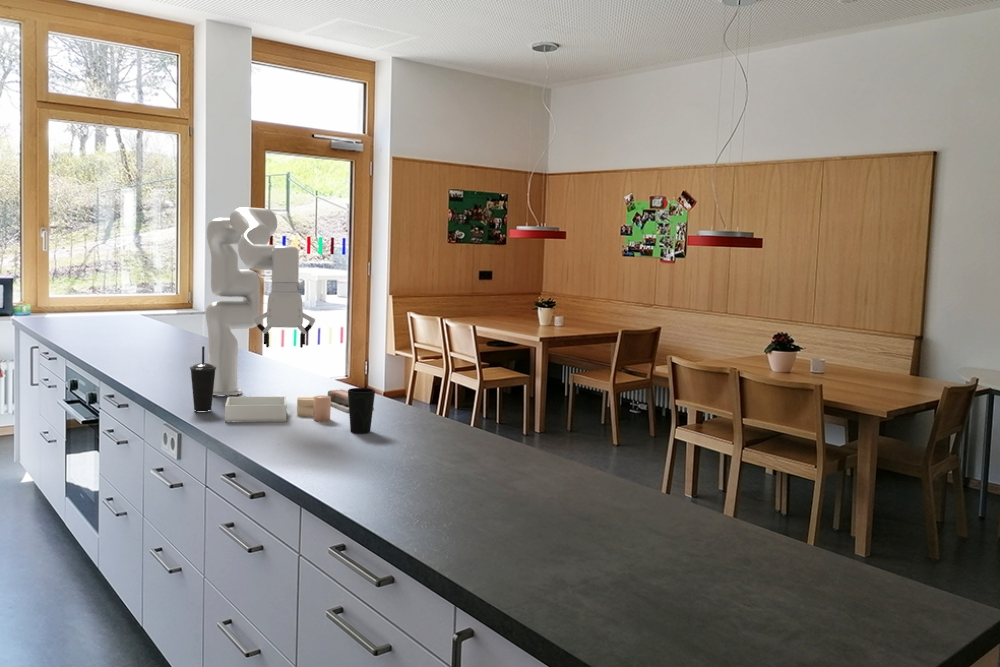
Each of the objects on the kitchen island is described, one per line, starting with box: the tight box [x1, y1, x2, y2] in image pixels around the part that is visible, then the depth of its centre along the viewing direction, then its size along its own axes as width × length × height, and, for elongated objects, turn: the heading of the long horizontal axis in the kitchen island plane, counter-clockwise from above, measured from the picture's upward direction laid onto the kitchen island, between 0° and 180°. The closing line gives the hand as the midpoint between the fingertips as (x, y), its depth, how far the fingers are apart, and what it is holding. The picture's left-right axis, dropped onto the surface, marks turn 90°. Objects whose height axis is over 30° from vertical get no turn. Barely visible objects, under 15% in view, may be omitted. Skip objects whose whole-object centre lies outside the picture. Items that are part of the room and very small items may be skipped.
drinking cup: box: [189, 345, 216, 411], centre depth 249 cm, size 8×8×20 cm
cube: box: [296, 396, 314, 417], centre depth 253 cm, size 5×5×5 cm
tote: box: [224, 396, 287, 423], centre depth 245 cm, size 13×17×5 cm
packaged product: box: [326, 389, 374, 414], centre depth 267 cm, size 18×5×10 cm
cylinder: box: [312, 395, 332, 423], centre depth 246 cm, size 5×5×7 cm
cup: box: [347, 387, 376, 435], centre depth 233 cm, size 8×8×12 cm
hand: (284, 346), depth 239 cm, fingers open, 9 cm apart
